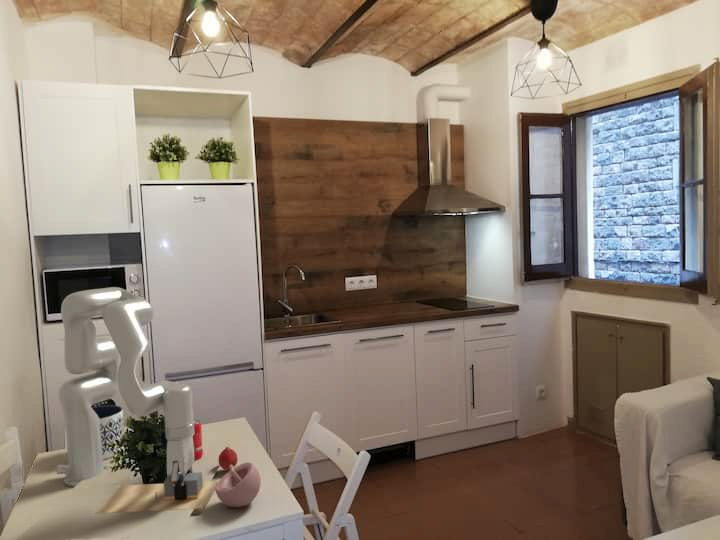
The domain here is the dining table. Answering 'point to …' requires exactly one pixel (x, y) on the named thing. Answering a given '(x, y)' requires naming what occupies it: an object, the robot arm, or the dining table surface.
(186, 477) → the block
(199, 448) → the beverage can
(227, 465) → the pomegranate
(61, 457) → the dining table surface
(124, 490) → the oak board
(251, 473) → the mortar and pestle
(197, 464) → the dining table surface
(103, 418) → the planter
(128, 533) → the dining table surface
